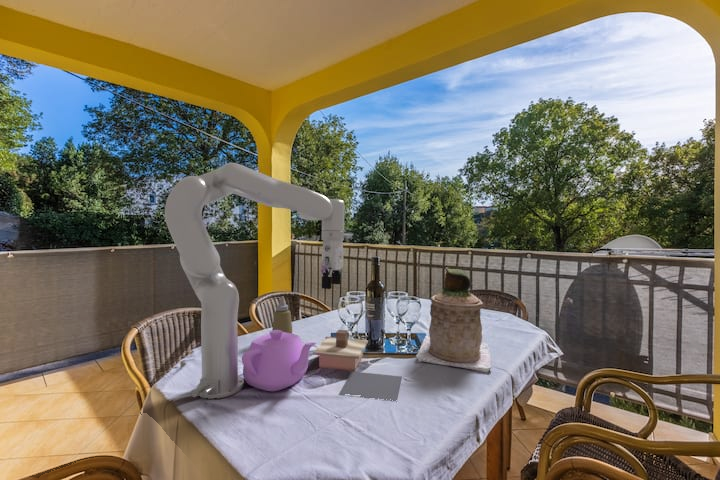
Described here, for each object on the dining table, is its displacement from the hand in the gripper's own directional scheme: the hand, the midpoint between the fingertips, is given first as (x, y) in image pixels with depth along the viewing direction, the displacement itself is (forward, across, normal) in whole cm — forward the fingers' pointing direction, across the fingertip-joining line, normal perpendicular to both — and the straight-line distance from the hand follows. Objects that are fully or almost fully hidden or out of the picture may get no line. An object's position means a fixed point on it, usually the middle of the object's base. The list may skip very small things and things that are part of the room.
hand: (331, 286), depth 114 cm
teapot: (+27, -17, +10) cm, 33 cm away
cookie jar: (+25, +17, -42) cm, 52 cm away
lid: (+21, 0, -4) cm, 21 cm away
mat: (+26, -14, -18) cm, 34 cm away
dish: (+26, 0, -4) cm, 26 cm away
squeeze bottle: (+26, +14, +25) cm, 39 cm away
